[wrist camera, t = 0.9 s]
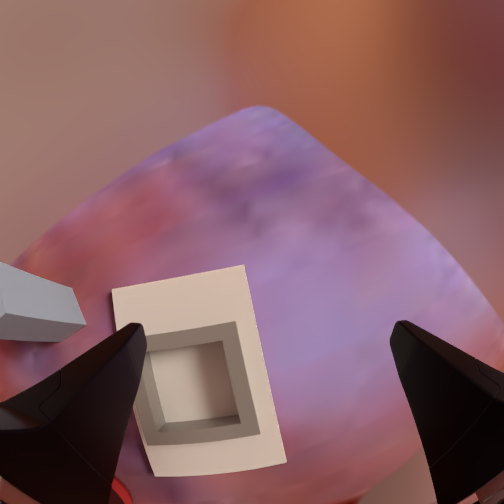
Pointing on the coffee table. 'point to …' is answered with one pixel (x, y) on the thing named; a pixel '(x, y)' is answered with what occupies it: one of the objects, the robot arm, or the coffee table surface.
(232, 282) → the well
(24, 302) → the post
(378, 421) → the coffee table surface
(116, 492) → the canned food
